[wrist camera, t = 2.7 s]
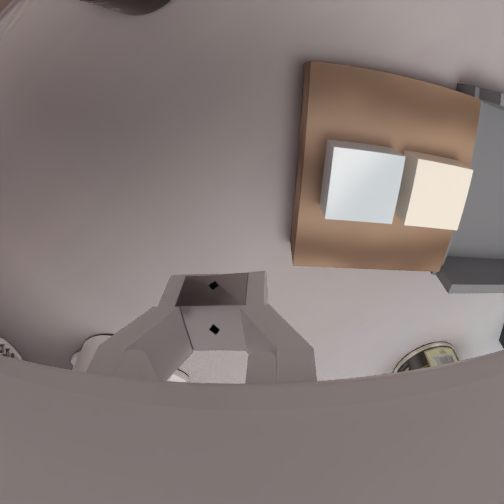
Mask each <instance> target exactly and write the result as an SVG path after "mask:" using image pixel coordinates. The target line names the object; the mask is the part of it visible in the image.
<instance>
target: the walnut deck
mask: <svg viewBox="0 0 504 504" xmlns="http://www.w3.org/2000/svg"><path fill="white" fill-rule="evenodd" d="M480 106H481V99H478V98H476V97H473V96H470V95H467V94H464V93H461V92H458V91H455V90H452V89H449V88H445V87H442V86H439V85H435V84H432V83H428V82H424V81H421V80H417V79H413V78H409V77H405V76H400V75H396V74H392V73H387V72H382V71H377V70H372V69H366V68H361V67H355V66H349V65H342V64H335V63H327V62H319V61H308V62H306V63H304V76H303V94H302V110H301V124H300V138H299V151H298V164H297V176H296V187H295V199H294V209H293V220H292V230H291V240H290V243H291V252H292V261H293V266H313V267H335V268H358V269H382V270H407V271H434V272H439V271H440V268H441V265H442V263H443V260H444V257H445V254H446V251H447V248H448V245H449V242H450V239H451V236H452V233H453V230H448V229H438V228H428V227H418V226H407V225H403V223H402V222H401V221H400V219H399V218H398V217H397V216H396V214H395V213H394V217H393V221H392V224H384V223H372V222H359V221H346V220H332V219H325V218H324V215H323V213H322V210H321V207H320V198H321V190H322V181H323V173H324V164H325V154H326V144H327V139H329V140H338V141H347V142H355V143H363V144H370V145H377V146H384V147H391V148H394V149H395V150H397V151H398V152H400V153H401V154H403V155H404V150H409V151H414V152H420V153H425V154H430V155H435V156H440V157H445V158H449V159H454V160H458V161H459V162H461V163H463V164H464V165H466V166H468V167H469V168H470V165H471V160H472V155H473V150H474V145H475V139H476V133H477V127H478V121H479V114H480Z"/></svg>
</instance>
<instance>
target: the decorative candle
mask: <svg viewBox="0 0 504 504" xmlns="http://www.w3.org/2000/svg"><path fill="white" fill-rule="evenodd" d="M0 355H3V356H7V357H11V358H15V359H19V360H22V357H21V356H20V355H19V353H18V352H17V351H16V349H15V348H14V347H13V346H12V345H11V344H9V343H8V342H7V341H6V340H4V339H2V338H1V337H0Z"/></svg>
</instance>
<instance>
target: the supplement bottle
mask: <svg viewBox="0 0 504 504" xmlns="http://www.w3.org/2000/svg"><path fill="white" fill-rule="evenodd" d="M81 1H84V2H88V3H92V4H95V5H99V6H102V7H105V8H108V9H112V10H115V11H118V12H121V13H125V14H130V15H140V14H145V13H149V12H152V11H155V10H157V9H159V8H160V7H162V6H164V5H165V4H166V3H168V2H169V1H170V0H81Z"/></svg>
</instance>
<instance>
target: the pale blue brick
mask: <svg viewBox="0 0 504 504" xmlns="http://www.w3.org/2000/svg"><path fill="white" fill-rule="evenodd" d="M404 163H405V156H404V155H403V154H401V153H400V152H398V151H397V150H395V149H394V148H391V147H384V146H377V145H370V144H363V143H355V142H347V141H338V140H329V139H327V144H326V154H325V164H324V173H323V181H322V190H321V198H320V207H321V210H322V213H323V215H324V218H325V219H332V220H346V221H359V222H372V223H384V224H392V221H393V217H394V213H395V208H396V204H397V199H398V194H399V189H400V184H401V179H402V174H403V169H404Z"/></svg>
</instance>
